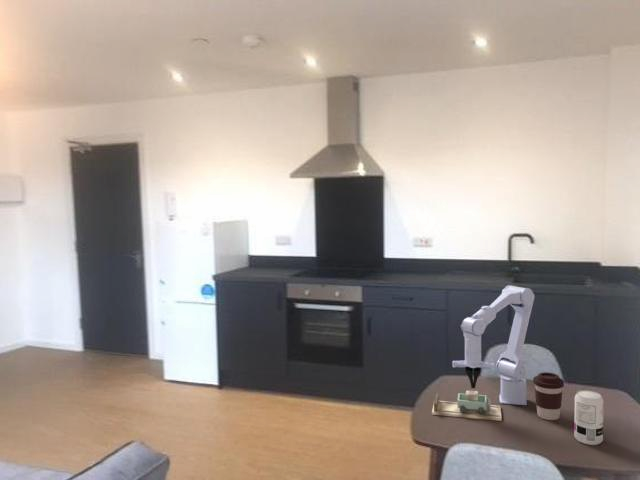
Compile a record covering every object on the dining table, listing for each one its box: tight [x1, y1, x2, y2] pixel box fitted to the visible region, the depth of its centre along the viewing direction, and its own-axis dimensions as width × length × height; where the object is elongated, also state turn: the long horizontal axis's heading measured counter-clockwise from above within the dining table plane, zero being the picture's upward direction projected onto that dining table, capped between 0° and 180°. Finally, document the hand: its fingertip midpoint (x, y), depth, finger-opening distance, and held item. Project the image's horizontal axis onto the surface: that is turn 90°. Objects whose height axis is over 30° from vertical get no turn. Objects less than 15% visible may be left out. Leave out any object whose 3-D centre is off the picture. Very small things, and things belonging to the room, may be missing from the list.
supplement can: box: [573, 389, 604, 446], centre depth 167 cm, size 8×8×15 cm
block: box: [465, 390, 479, 402], centre depth 191 cm, size 4×4×4 cm
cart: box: [457, 392, 491, 414], centre depth 191 cm, size 11×9×4 cm
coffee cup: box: [532, 372, 565, 421], centre depth 185 cm, size 10×10×15 cm
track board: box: [431, 392, 502, 422], centre depth 192 cm, size 24×11×4 cm, turn 73°
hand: (473, 387), depth 190 cm, fingers closed
